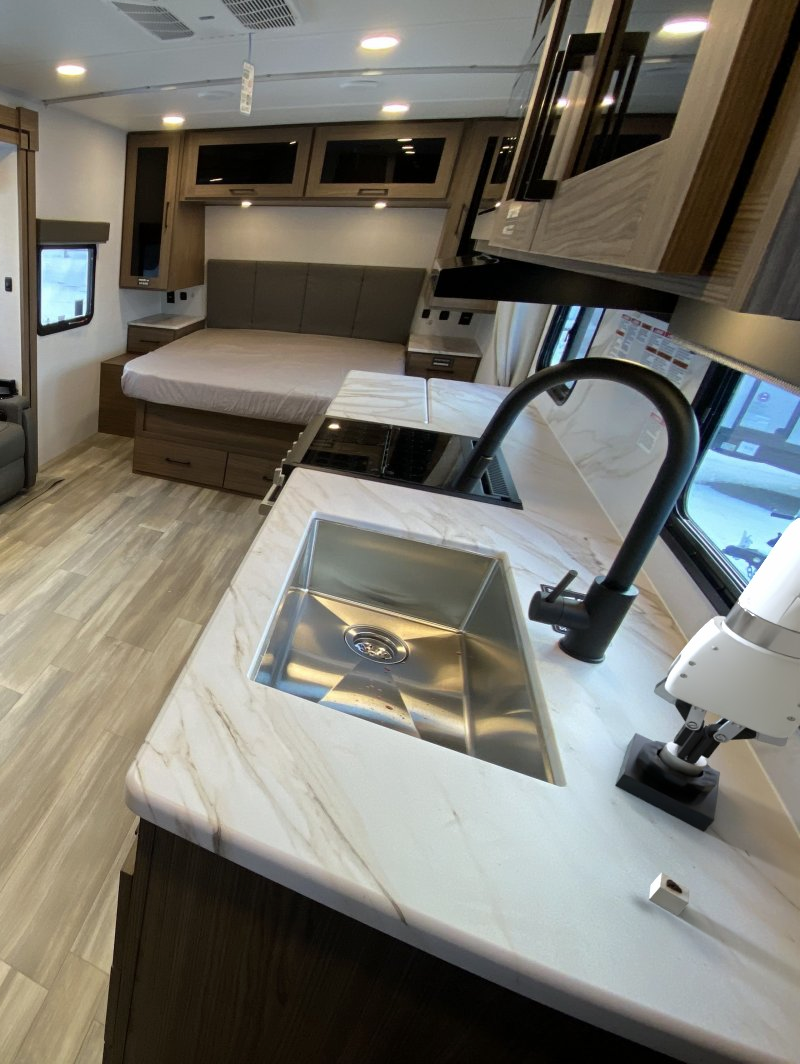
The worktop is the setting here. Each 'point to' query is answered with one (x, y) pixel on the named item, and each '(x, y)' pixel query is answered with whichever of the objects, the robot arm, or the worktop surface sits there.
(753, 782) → the worktop surface
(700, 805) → the block
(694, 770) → the knob
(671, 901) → the cube with dark pebbles
